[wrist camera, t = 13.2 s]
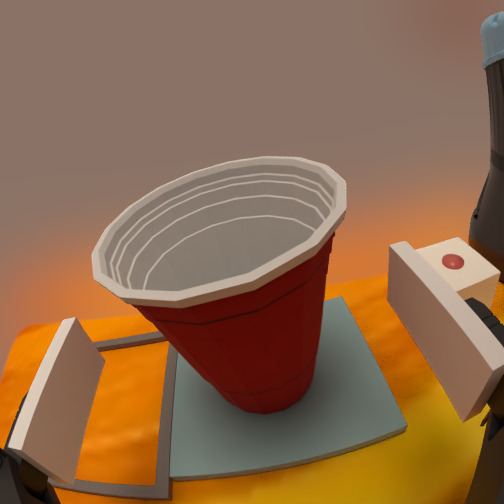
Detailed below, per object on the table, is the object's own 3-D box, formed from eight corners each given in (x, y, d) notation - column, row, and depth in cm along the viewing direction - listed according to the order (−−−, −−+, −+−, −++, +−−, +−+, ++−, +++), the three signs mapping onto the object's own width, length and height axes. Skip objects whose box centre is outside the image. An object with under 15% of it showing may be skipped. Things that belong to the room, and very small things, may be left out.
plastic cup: (168, 453, 14) (34, 292, 9) (202, 327, 24) (144, 182, 18) (366, 448, 12) (387, 240, 7) (344, 310, 22) (325, 143, 16)
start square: (182, 331, 25) (180, 326, 25) (171, 500, 12) (168, 497, 12) (53, 352, 25) (51, 348, 25) (8, 474, 12) (4, 471, 12)
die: (449, 290, 21) (458, 235, 19) (483, 328, 17) (501, 270, 14) (400, 308, 21) (404, 251, 19) (431, 353, 17) (445, 294, 15)
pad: (342, 304, 24) (341, 296, 23) (405, 431, 13) (407, 425, 13) (183, 341, 24) (179, 334, 24) (175, 480, 13) (169, 476, 13)
